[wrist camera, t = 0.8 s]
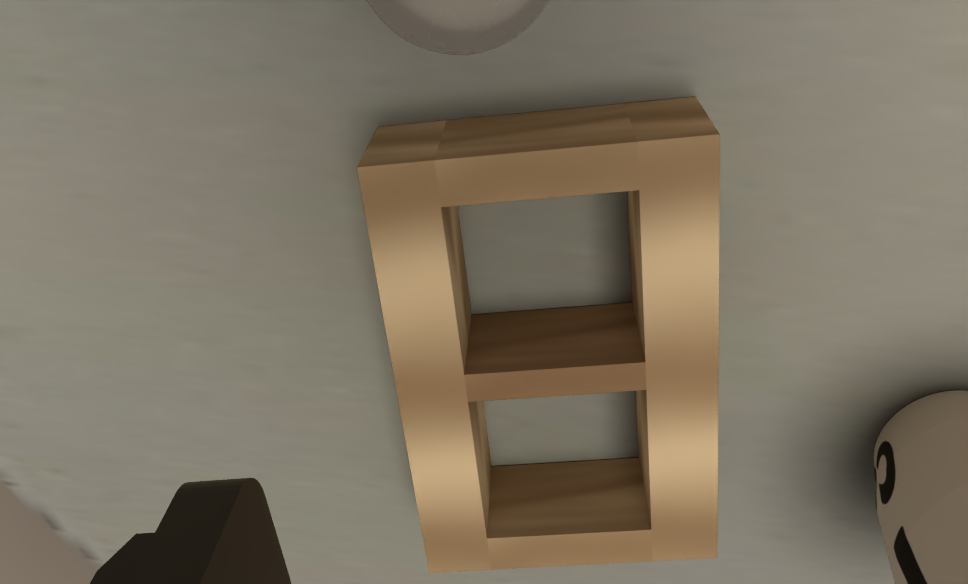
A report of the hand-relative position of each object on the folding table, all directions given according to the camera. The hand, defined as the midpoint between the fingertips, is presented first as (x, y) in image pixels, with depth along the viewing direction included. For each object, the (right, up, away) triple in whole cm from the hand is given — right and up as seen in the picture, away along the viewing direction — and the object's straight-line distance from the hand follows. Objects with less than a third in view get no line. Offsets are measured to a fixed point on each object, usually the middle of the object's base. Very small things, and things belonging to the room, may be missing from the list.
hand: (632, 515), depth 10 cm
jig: (+1, +1, +22) cm, 22 cm away
